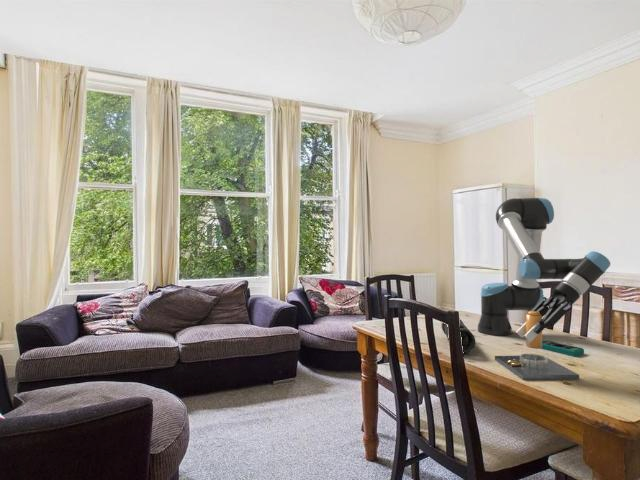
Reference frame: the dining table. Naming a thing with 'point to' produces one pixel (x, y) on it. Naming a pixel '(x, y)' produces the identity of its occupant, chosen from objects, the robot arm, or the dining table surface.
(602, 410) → the dining table surface
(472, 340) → the muzzle brake
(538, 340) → the orange cylinder
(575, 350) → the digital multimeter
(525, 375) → the plate
